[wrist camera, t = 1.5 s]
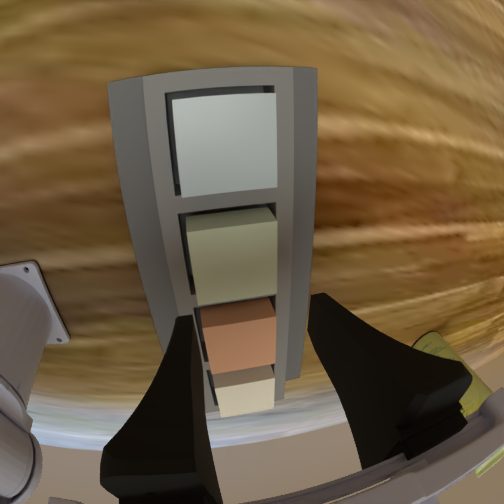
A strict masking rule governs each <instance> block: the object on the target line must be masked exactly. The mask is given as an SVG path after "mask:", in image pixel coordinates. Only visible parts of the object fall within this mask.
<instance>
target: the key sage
mask: <svg viewBox="0 0 504 504" xmlns="http://www.w3.org/2000/svg"><path fill="white" fill-rule="evenodd" d="M186 232H187V239H188V246H189V253H190V259H191V266H192V272H193V278H194V284H195V290H196V296H197V302H198V305H205V304H212V303H219V302H226V301H232V300H239V299H245V298H252V297H258V296H264V295H270V294H276V293H277V220H276V218H275V217H274V215H273V214H272V213H271V211H270V210H269V208H268V207H263V208H254V209H245V210H236V211H228V212H219V213H211V214H203V215H196V216H188V217H186Z"/></svg>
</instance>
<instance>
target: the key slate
mask: <svg viewBox="0 0 504 504" xmlns="http://www.w3.org/2000/svg"><path fill="white" fill-rule="evenodd" d="M172 106H173V119H174V130H175V141H176V151H177V160H178V170H179V178H180V187H181V195H182V198H185V197H193V196H201V195H209V194H217V193H226V192H235V191H244V190H254V189H265V188H276V187H277V117H276V93H243V94H225V95H211V96H200V97H190V98H181V99H173V100H172Z"/></svg>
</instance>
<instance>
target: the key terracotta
mask: <svg viewBox="0 0 504 504" xmlns="http://www.w3.org/2000/svg"><path fill="white" fill-rule="evenodd" d="M200 314H201V321H202V329H203V334H204V339H205V344H206V349H207V354H208V359H209V364H210V369H211V373H212V374H218V373H224V372H230V371H236V370H242V369H248V368H253V367H259V366H264V365H269V364H274V363H275V359H276V318H277V316H276V314H275V312H274V309H273V307H272V304H271V302H270V300H269V297H266V298H260V299H254V300H248V301H241V302H235V303H228V304H222V305H215V306H208V307H201V308H200Z"/></svg>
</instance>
